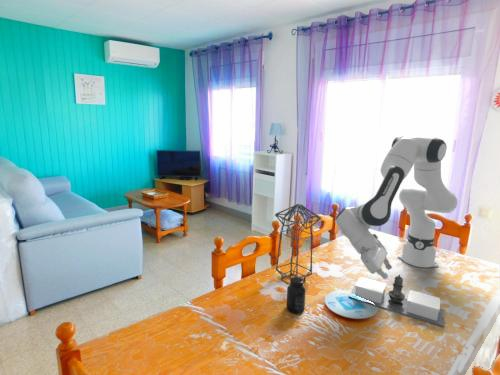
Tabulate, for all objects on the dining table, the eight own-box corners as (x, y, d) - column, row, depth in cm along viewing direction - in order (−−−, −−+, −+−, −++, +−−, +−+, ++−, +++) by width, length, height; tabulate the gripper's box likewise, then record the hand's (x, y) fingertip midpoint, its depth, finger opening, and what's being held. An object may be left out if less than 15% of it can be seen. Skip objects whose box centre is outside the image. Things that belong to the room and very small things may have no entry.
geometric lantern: (268, 278, 141) (272, 202, 135) (293, 269, 151) (298, 198, 145) (293, 292, 129) (299, 210, 123) (318, 283, 139) (325, 205, 133)
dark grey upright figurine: (405, 307, 120) (409, 279, 118) (389, 305, 121) (393, 277, 119) (401, 299, 126) (405, 272, 124) (385, 297, 127) (389, 270, 125)
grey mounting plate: (355, 285, 137) (357, 274, 136) (443, 310, 120) (445, 298, 119) (348, 297, 127) (349, 285, 126) (443, 327, 110) (445, 313, 109)
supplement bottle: (305, 306, 120) (307, 277, 118) (302, 316, 114) (304, 286, 111) (288, 302, 122) (289, 274, 120) (284, 312, 116) (286, 282, 114)
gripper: (365, 248, 116) (391, 280, 113) (376, 233, 133) (398, 260, 130) (352, 256, 119) (376, 287, 116) (364, 240, 136) (386, 267, 133)
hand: (388, 273), depth 123 cm, fingers open, 8 cm apart
